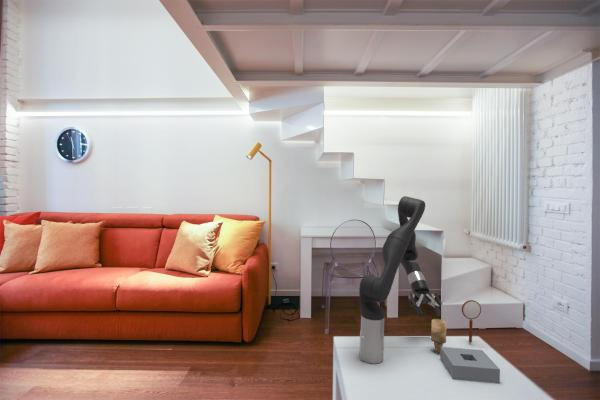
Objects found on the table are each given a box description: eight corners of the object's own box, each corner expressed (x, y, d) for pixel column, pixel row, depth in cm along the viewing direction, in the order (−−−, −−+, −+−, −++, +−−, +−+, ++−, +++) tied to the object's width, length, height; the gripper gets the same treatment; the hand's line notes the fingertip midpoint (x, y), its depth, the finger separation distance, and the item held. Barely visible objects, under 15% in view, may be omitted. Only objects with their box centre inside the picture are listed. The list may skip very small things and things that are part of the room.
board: (452, 378, 114) (453, 365, 114) (440, 358, 128) (440, 346, 128) (499, 383, 112) (500, 369, 112) (481, 362, 126) (482, 350, 126)
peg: (432, 354, 131) (433, 324, 131) (428, 347, 137) (429, 318, 137) (447, 355, 130) (448, 325, 130) (442, 348, 136) (443, 319, 136)
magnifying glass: (461, 344, 140) (463, 300, 140) (459, 342, 142) (461, 299, 142) (480, 345, 141) (482, 300, 140) (478, 343, 142) (480, 299, 142)
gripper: (406, 279, 147) (418, 312, 136) (434, 278, 149) (448, 311, 138) (401, 287, 152) (412, 319, 141) (428, 286, 155) (441, 318, 143)
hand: (430, 315), depth 140 cm, fingers open, 8 cm apart
